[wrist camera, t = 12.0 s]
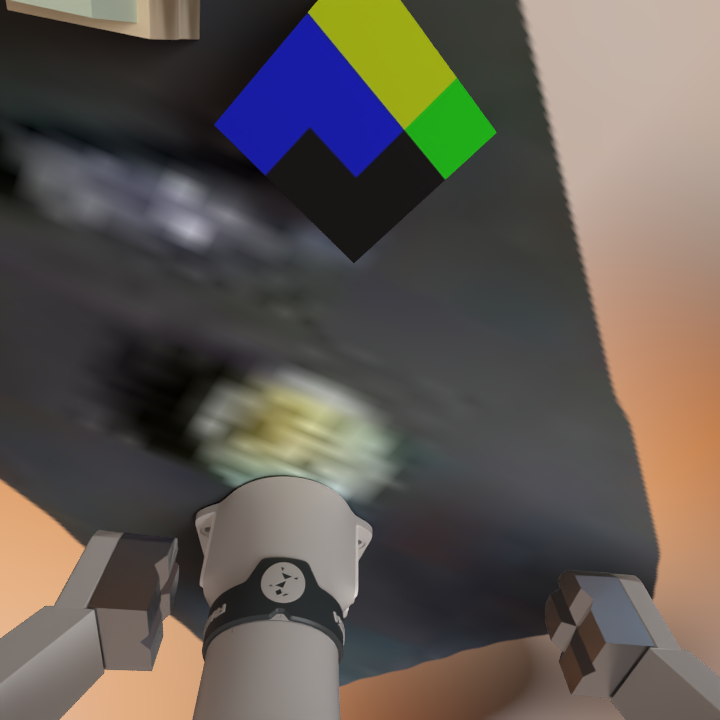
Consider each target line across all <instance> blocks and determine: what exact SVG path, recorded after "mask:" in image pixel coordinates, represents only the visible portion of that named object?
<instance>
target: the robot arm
mask: <svg viewBox="0 0 720 720" xmlns="http://www.w3.org/2000/svg"><path fill="white" fill-rule="evenodd" d="M195 525H196V529H197V532H198V536H199V540H200V543H201V547H202V550H203V554H204V562H203V566H202V571H201V576H200V586H201V587H202V588H203V591H204V596H205V598H206V600H207V602H208V604H209V606H210V611H209V616H208V620H207V622H206V625H205V629H204V634H203V636H204V638H203V647H202V654H203V659H204V661H205V663H204V667H203V673H202V677H201V682H200V686H199V691H198V696H197V701H196V706H195V710H194V715H193V720H340V702H339V664H340V662H341V660H342V657H343V645H344V640H345V629H344V625H343V618H345V617H346V615H347V613H348V609H349V606H350V604H353V603H354V600H355V597H357V594H358V560H359V559H360V557H361V555H362V554H363V552H364V550H365V549H366V547H367V546H368V544H369V542H370V541H371V539H372V527H371V526H370V525H369V524H368V523H367V522H365V521H364V520H362V519H361V518H359V517H357V516H356V515H355V514H354V513H353V512H352V511H351V509H350V508H349V506H348V505H347V503H346V502H345V500H344V499H343V498H342V497H341V496H340V495H339V494H337V493H336V492H335V491H333V490H332V489H330V488H328V487H327V486H325V485H323V484H320V483H318V482H315V481H312V480H308V479H304V478H298V477H284V476H282V477H269V478H264V479H259V480H256V481H253V482H250V483H248V484H245V485H243V486H241V487H240V488H238V489H236V490H235V491H234V492H232V493H231V494H230V495H229V496H228V497H227V498H226V499H224V500H223V501H222V502H220V503H218V504H215V505H212V506H209V507H206V508H204V509H202V510H200V511H199V512H198V513H197V514H196V521H195ZM177 552H178V539H176V538H169V537H160V536H151V535H142V534H132V533H123V532H112V531H101V530H98V531H97V532H96V533H95V534H94V535H93V536H92V537H91V539H90V541H89V542H88V544H87V546H86V548H85V550H84V552H83V554H82V555H81V557H80V559H79V561H78V563H77V564H76V566H75V568H74V570H73V572H72V574H71V575H70V577H69V579H68V581H67V583H66V585H65V586H64V588H63V590H62V592H61V594H60V596H59V597H58V599H57V601H56V603H55V605H54V606H44V607H43V608H42V609H40V610H39V611H38V612H36V613H35V614H33V615H32V616H31V617H29V618H28V619H27V620H25V621H24V622H22V623H21V624H20V625H18V626H17V627H16V628H14V629H13V630H11V631H10V632H9V633H7V634H6V635H4V636H3V637H2V638H0V720H59V719H60V718H61V717H62V716H63V715H64V714H65V713H66V712H67V711H68V710H69V709H70V708H71V707H72V706H73V705H74V704H75V702H77V701H78V700H79V699H80V697H81V696H82V695H83V694H84V693H85V692H86V691H87V690H88V689H89V688H90V687H91V686H92V685H93V684H94V683H95V682H96V681H97V680H98V679H99V678H100V677H101V676H102V675H103V674H104V669H106V670H137V671H152V669H153V666H154V662H155V659H156V656H157V653H158V650H159V647H160V644H161V641H162V638H163V624H162V621H163V620H164V619H165V618H166V617H167V616H168V615H170V613H171V610H172V606H173V603H174V600H175V595H176V590H177V586H178V577H179V565H178V564H177V563H176V562H175V558H176V555H177ZM558 583H559V585H560V589H558V590H557V591H555V592H553V593H552V594H550V597H549V599H548V601H547V603H546V610H545V620H546V626H547V630H548V633H549V636H550V638H551V641H552V642H553V643H554V644H555V645H556V646H557V647H558V648H559V649H560V650H561V651H562V653H561V656H560V660H559V664H560V666H561V669H562V671H563V674H564V677H565V680H566V683H567V685H568V688H569V691H570V693H571V695H574V696H586V697H598V698H608V699H611V702H612V704H613V705H614V706H615V707H616V708H617V710H618V711H619V712H620V713H621V714H622V716H623V717H624V718H625V719H626V720H720V677H719V676H718V675H717V674H715V673H714V672H713V671H712V670H711V669H710V668H708V667H707V666H706V665H705V664H704V663H703V662H701V661H700V660H699V659H698V658H697V657H695V656H694V655H693V654H692V653H691V652H689V651H688V650H682V649H680V647H679V645H678V643H677V642H676V640H675V639H674V637H673V635H672V633H671V631H670V630H669V628H668V626H667V625H666V623H665V621H664V619H663V618H662V616H661V615H660V613H659V611H658V609H657V608H656V606H655V604H654V603H653V601H652V599H651V597H650V596H649V594H648V592H647V591H646V589H645V587H644V585H643V584H642V582H641V581H640V580H639V579H638V578H637V577H636V576H633V575H621V574H610V573H602V572H588V571H573V570H567V571H565V572H563V573H562V574H561V576H560V578H559V579H558Z"/></svg>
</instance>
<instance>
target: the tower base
mask: <svg viewBox="0 0 720 720" xmlns="http://www.w3.org/2000/svg"><path fill="white" fill-rule="evenodd" d="M199 37H200V0H179V39H196V40H199Z"/></svg>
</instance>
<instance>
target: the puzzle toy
mask: <svg viewBox="0 0 720 720" xmlns="http://www.w3.org/2000/svg"><path fill="white" fill-rule="evenodd" d="M214 126H215V127H216V128H217V129H218V130H219V131H220V132H221V133H222V134H223V135H225V136H226V137H227V138H228V139H229V140H230V141H231V142H232V143H233V144H234V145H235V146H236V147H237V148H238V149H239V150H240V151H241V152H242V153H243V154H244V155H245V156H246V157H247V158H248V159H249V160H250V161H251V162H252V163H253V164H254V165H255V166H256V167H257V168H258V169H259V170H260V171H261V172H262V173H263V174H264V175H265V176H266V177H267V178H268V179H269V180H270V181H271V182H272V183H273V184H274V185H275V186H276V187H277V188H278V189H279V190H280V191H281V192H282V193H283V194H284V195H285V196H286V197H287V198H288V199H289V200H290V201H291V202H292V203H293V204H294V205H295V206H296V207H297V208H298V209H299V210H300V211H301V212H302V213H304V214H305V215H306V216H307V217H308V218H309V219H310V220H311V221H312V222H313V223H314V224H315V225H316V226H317V227H318V228H319V229H320V230H321V231H322V232H323V233H324V234H325V235H326V236H327V237H328V238H329V239H330V240H331V241H332V242H333V243H334V244H335V245H336V246H337V247H338V248H339V249H340V250H341V251H342V252H343V253H344V254H345V255H346V256H347V257H348V258H349V259H350V260H351V261H352V262H353V263H355V262H356V261H357V260H358V259H359V258H360V257H361V256H362V255H363V254H365V253H366V252H367V251H368V250H369V249H370V248H371V247H372V246H373V245H374V244H375V243H377V242H378V241H379V240H380V239H381V238H382V237H383V236H384V235H385V234H386V233H387V232H389V231H390V230H391V229H392V228H393V227H394V226H395V225H396V224H397V223H398V222H399V221H401V220H402V219H403V218H404V217H405V216H406V215H407V214H408V213H409V212H410V211H411V210H413V209H414V208H415V207H416V206H417V205H418V204H419V203H420V202H421V201H422V200H423V199H425V198H426V197H427V196H428V195H429V194H430V193H431V192H432V191H433V190H434V189H435V188H437V187H438V186H439V185H440V184H441V183H442V182H443V181H444V180H445V179H446V178H448V177H449V176H450V175H451V174H452V173H453V172H454V171H455V170H456V169H457V168H458V167H460V166H461V165H462V164H463V163H464V162H465V161H466V160H467V159H468V158H469V157H470V156H472V155H473V154H474V153H475V152H476V151H477V150H478V149H479V148H480V147H481V146H482V145H484V144H485V143H486V142H487V141H488V140H489V139H490V138H491V137H492V136H493V135H494V134H496V133H497V132H496V131H495V130H494V128H493V127H492V126H491V124H490V123H489V121H488V120H487V119H486V117H485V116H484V115H483V113H482V112H481V110H480V109H479V108H478V106H477V105H476V104H475V102H474V101H473V99H472V98H471V97H470V95H469V94H468V93H467V91H466V90H465V88H464V87H463V86H462V84H461V83H460V82H459V80H458V79H457V77H456V76H455V75H454V73H453V72H452V71H451V69H450V68H449V67H448V65H447V64H446V62H445V61H444V60H443V58H442V57H441V56H440V54H439V53H438V51H437V50H436V49H435V47H434V46H433V45H432V43H431V42H430V40H429V39H428V38H427V36H426V35H425V34H424V32H423V31H422V29H421V28H420V27H419V25H418V24H417V23H416V21H415V20H414V18H413V17H412V16H411V14H410V13H409V12H408V10H407V9H406V7H405V6H404V5H403V3H402V2H401V1H400V0H318V1H317V2H316V3H315V4H314V6H313V7H312V8H311V9H310V10H309V12H308V13H307V14H306V15H305V16H304V18H303V19H302V20H301V21H300V22H299V24H298V25H297V26H296V27H295V28H294V30H293V31H292V32H291V33H290V34H289V35H288V37H287V38H286V39H285V40H284V41H283V43H282V44H281V45H280V46H279V47H278V49H277V50H276V51H275V52H274V53H273V55H272V56H271V57H270V58H269V59H268V61H267V62H266V63H265V64H264V65H263V67H262V68H261V69H260V70H259V71H258V73H257V74H256V75H255V76H254V77H253V79H252V80H251V81H250V82H249V83H248V85H247V86H246V87H245V88H244V89H243V90H242V92H241V93H240V94H239V95H238V96H237V98H236V99H235V100H234V101H233V102H232V104H231V105H230V106H229V107H228V108H227V110H226V111H225V112H224V113H223V114H222V116H221V117H220V118H219V119H218V120H217V122H216V123H215V124H214Z"/></svg>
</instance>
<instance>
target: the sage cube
mask: <svg viewBox="0 0 720 720" xmlns="http://www.w3.org/2000/svg"><path fill="white" fill-rule="evenodd" d="M11 1H16V2H21V3H25V4H30V5H35V6H39V7H44V8H48V9H53V10H58V11H62V12H67V13H72V14H76V15H81V16H85V17H90V18H97V19H106V20H115V21H125V22H134V23H138V22H137V0H11Z"/></svg>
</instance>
